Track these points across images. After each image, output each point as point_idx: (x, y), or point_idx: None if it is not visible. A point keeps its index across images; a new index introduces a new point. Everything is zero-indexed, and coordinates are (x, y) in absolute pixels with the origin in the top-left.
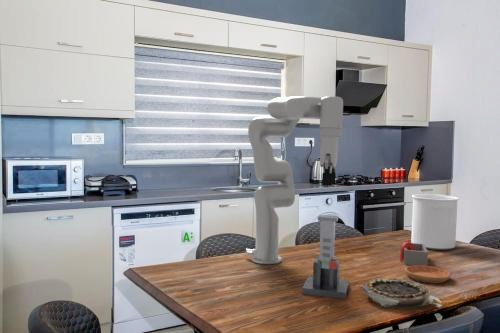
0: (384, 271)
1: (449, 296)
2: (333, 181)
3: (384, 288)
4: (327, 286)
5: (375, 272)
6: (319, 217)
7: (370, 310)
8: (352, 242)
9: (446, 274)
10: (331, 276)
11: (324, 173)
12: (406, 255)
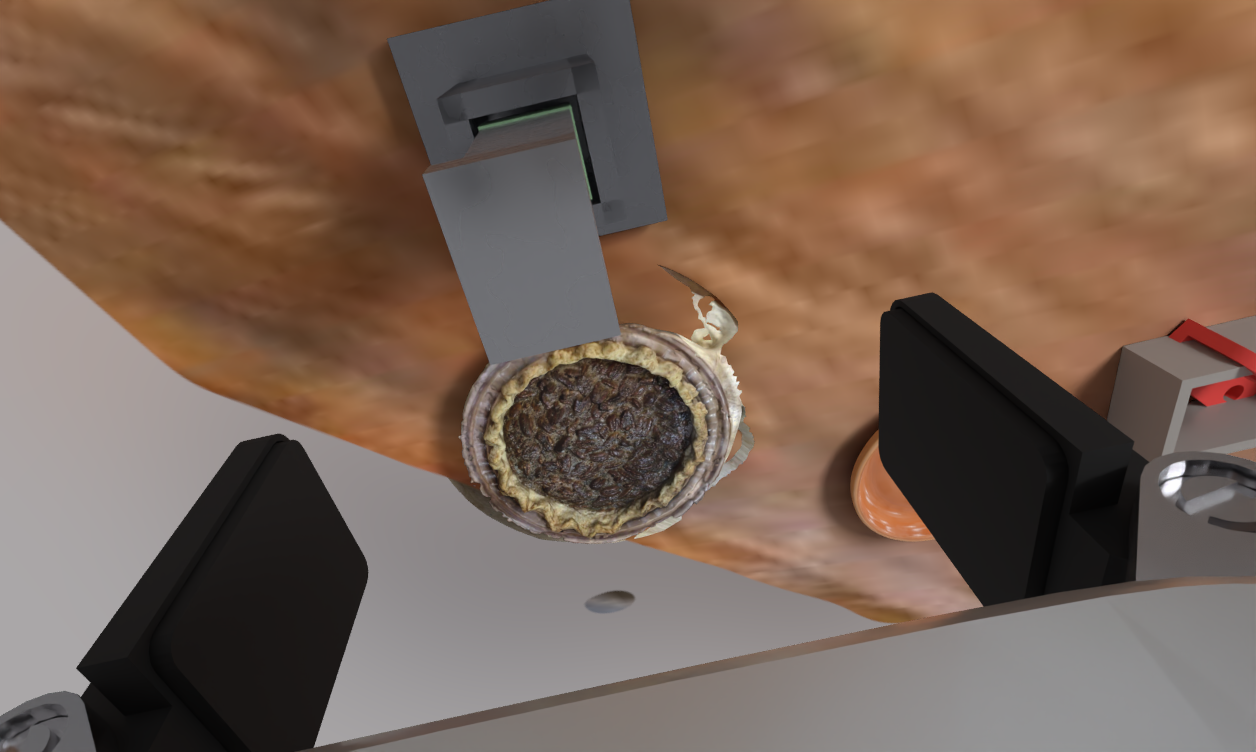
0: (976, 297)
1: (721, 545)
2: (891, 459)
3: (582, 404)
4: None
5: (945, 265)
6: (430, 192)
7: (403, 377)
8: None
9: None
10: None
11: (116, 707)
12: (1157, 376)
